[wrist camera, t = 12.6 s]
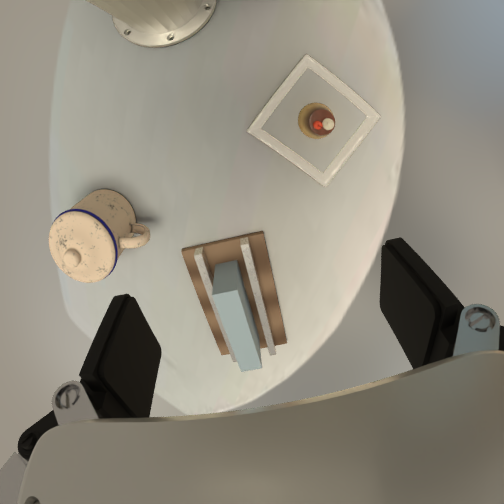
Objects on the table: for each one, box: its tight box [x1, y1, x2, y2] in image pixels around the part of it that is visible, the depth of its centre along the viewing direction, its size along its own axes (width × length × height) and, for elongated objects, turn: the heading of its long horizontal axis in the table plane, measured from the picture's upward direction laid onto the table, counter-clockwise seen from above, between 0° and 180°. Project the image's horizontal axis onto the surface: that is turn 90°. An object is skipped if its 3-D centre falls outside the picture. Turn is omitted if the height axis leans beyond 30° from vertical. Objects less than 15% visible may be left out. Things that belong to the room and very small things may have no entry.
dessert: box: [247, 54, 381, 187], centre depth 32 cm, size 12×12×5 cm
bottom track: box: [181, 231, 287, 362], centre depth 44 cm, size 20×11×3 cm, turn 12°
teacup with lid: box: [49, 189, 150, 283], centre depth 33 cm, size 12×9×12 cm
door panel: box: [212, 260, 262, 372], centre depth 41 cm, size 14×3×7 cm, turn 13°
